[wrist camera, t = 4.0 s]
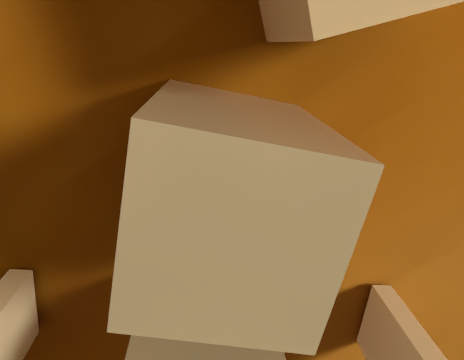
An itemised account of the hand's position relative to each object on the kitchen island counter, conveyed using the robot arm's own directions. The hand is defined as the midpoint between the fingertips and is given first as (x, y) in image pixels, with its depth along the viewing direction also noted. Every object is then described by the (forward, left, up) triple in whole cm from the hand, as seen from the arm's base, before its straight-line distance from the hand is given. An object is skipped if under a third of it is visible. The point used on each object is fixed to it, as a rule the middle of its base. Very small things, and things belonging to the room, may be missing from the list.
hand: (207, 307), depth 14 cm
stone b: (+6, 0, 0) cm, 6 cm away
